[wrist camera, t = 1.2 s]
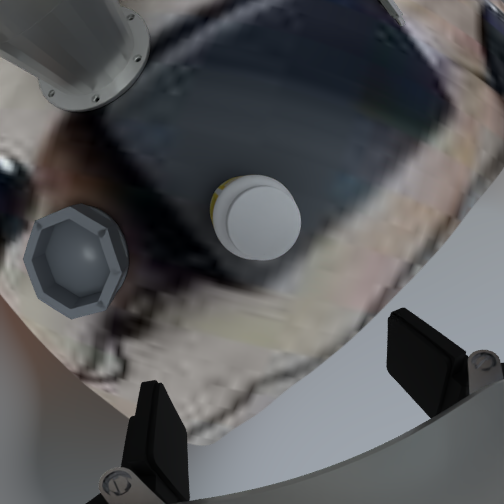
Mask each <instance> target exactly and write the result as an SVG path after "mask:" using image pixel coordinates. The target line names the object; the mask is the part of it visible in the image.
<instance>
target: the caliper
mask: <svg viewBox="0 0 504 504" xmlns="http://www.w3.org/2000/svg"><path fill="white" fill-rule="evenodd" d="M379 1H380V2H381V4H382V5H383V6H384V8H385V9H386V10H387V11H388V13H389V14H390V15H391V16H392V17H393V18H394V19H396V20H397V22H398V23H399V25H400V26H401V27H402V26H403V25H405V21H404V20H403V18H402V17H401V16H402V15H403V14H402V12H401V11H400V9H399V8H398V6H397V5H396V4H395V2H394V1H393V0H379Z"/></svg>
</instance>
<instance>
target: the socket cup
mask: <svg viewBox="0 0 504 504" xmlns="http://www.w3.org/2000/svg"><path fill="white" fill-rule="evenodd" d="M23 260H24V263H25V266H26V269H27V272H28V274H29V277H30V280H31V282H32V285H33V287H34V290H35V292H36V295H37V297H38V299H40V300H41V301H43V302H44V303H46V304H47V305H49V306H50V307H52V308H53V309H55V310H57V311H58V312H60V313H62V314H63V315H65V316H66V317H68V318H70V319H74V318H78V317H82V316H86V315H90V314H94V313H97V312H101V311H105V310H106V309H107V308H108V306H109V305H110V303H111V302H112V300H113V299H114V296H115V294H116V293H117V291H118V290H119V288H120V287H121V286H122V284H123V282H124V280H125V278H126V275H127V271H128V266H129V252H128V247H127V243H126V240H125V237H124V235H123V233H122V231H121V229H120V228H119V226H118V225H117V223H116V222H115V221H114V220H113V219H112V218H111V217H110V216H109V215H108V214H106V213H105V212H103V211H102V210H100V209H98V208H95V207H92V206H88V205H84V204H82V203H81V204H77V205H73V206H69V207H67V208H64V209H62V210H60V211H57V212H55V213H52V214H50V215H48V216H45V217H43V218H41V219H38V220H35V223H34V226H33V229H32V232H31V235H30V238H29V241H28V244H27V247H26V251H25V254H24V258H23Z"/></svg>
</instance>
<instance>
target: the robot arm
mask: <svg viewBox="0 0 504 504" xmlns="http://www.w3.org/2000/svg"><path fill="white" fill-rule="evenodd" d="M150 46H151V44H150V35H149V31H148V28H147V26H146V24H145V22H144V20H143V19H142V18H141V17H140V15H139V14H137V13H136V12H134V11H133V10H131V9H128V8H126V7H123V6H120V3H119V1H118V0H0V57H2V58H4V59H6V60H7V61H9V62H11V63H13V64H14V65H16V66H18V67H20V68H21V69H23V70H25V71H27V72H28V73H30V74H32V75H34V76H35V77H37V78H38V81H39V86H40V89H41V91H42V94H43V95H44V97H45V98H46V99H47V100H48V101H49V102H50V103H51V104H53V105H54V106H56V107H58V108H60V109H62V110H66V111H70V112H85V111H91V110H94V109H97V108H100V107H103V106H105V105H106V104H108V103H110V102H112V101H114V100H115V99H117V98H118V97H119V96H121V95H122V94H123V93H124V92H125V91H127V90H128V89H129V88H130V87H131V86H132V85H133V83H134V82H135V81H136V80H137V78H138V77H139V76H140V74H141V72H142V71H143V69H144V67H145V65H146V62H147V60H148V57H149V52H150ZM138 60H141V61H139V62H137V61H138ZM53 95H54V96H53ZM99 98H100V100H99V101H98V102H97V99H99ZM387 370H388V372H389V374H390V375H391V376H392V377H393V378H394V379H395V380H396V381H397V382H398V383H399V384H400V385H401V386H402V387H403V389H404V390H405V391H406V392H407V393H408V394H409V395H410V396H411V397H412V398H413V399H414V401H415V402H416V403H417V404H418V405H419V406H420V407H421V408H422V409H423V410H424V411H425V413H426V414H427V415H428V416H429V417H430V418H431V419H429V420H428V421H426V422H424V423H422V424H421V425H419V426H417V427H415V428H414V429H412V430H410V431H408V432H406V433H404V434H402V435H400V436H398V437H396V438H394V439H392V440H390V441H388V442H386V443H384V444H382V445H380V446H378V447H376V448H374V449H371V450H369V451H367V452H365V453H362V454H360V455H358V456H355V457H353V458H351V459H348V460H346V461H343V462H340V463H338V464H335V465H332V466H330V467H327V468H324V469H322V470H319V471H315V472H313V473H310V474H306V475H304V476H300V477H297V478H294V479H290V480H287V481H283V482H280V483H276V484H272V485H269V486H265V487H260V488H256V489H252V490H247V491H242V492H238V493H233V494H228V495H223V496H217V497H211V498H205V499H199V500H193V501H189V499H190V494H189V478H188V477H189V476H188V452H187V432H186V429H185V426H184V425H183V423H182V421H181V419H180V417H179V415H178V413H177V411H176V409H175V407H174V406H173V404H172V402H171V400H170V398H169V396H168V394H167V392H166V389H165V387H164V385H163V384H162V383H158V382H157V381H156V380H153V381H147V382H142V383H141V387H140V392H139V397H138V402H137V408H136V413H135V416H131V417H130V420H129V424H128V429H127V435H126V440H125V446H124V452H123V458H122V464H121V467H117V468H113V469H111V470H108V471H107V472H106V473H104V474H103V475H102V477H101V478H100V481H99V490H100V492H101V493H100V494H99V495H97V496H96V497H95V498H93V499H92V500H91V501H89V502H88V503H86V504H504V363H500V359H499V357H498V356H497V355H496V354H495V353H494V352H492V351H488V350H478V351H475V352H473V353H472V354H471V355H470V356H469V357H468V356H467V355H466V351H464V350H463V349H462V348H460V347H459V346H458V345H456V344H455V343H454V342H452V341H451V340H449V339H448V338H447V337H445V336H444V335H442V334H441V333H440V332H438V331H437V330H436V329H434V328H432V327H431V326H430V325H429V324H427V323H426V322H424V321H423V320H421V319H420V318H418V317H417V316H416V315H414V314H413V313H412V312H410V311H409V310H407V309H406V308H400V309H398V310H396V311H393V312H392V313H391V315H390V317H389V318H388V341H387Z"/></svg>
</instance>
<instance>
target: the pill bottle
mask: <svg viewBox="0 0 504 504" xmlns="http://www.w3.org/2000/svg"><path fill="white" fill-rule="evenodd" d="M210 217H211V220H212V224H213V227H214V230H215V233H216V235H217V237H218V239H219V240H220V242H221V243H222V244H223V246H224V247H225V248H226V249H228V250H229V251H230V252H231V253H233V254H235V255H237V256H239V257H241V258H245V259H250V260H271V259H275V258H277V257H279V256H281V255H283V254H284V253H286V252H287V251H288V250H289V249H290V248H291V247H292V246H293V245H294V243H295V241H296V240H297V238H298V235H299V232H300V228H301V217H300V212H299V209H298V207H297V205H296V203H295V201H294V199H293V197H292V195H291V194H290V192H289V191H288V190H287V189H286V187H285V186H284V185H282V184H281V183H280V182H278V181H277V180H275V179H273V178H270V177H267V176H263V175H246V176H239V177H234V178H231V179H229V180H227V181H225V182H223V183H222V184H221V185H220V186H219V187H218V188H217V189H216V190H215V192H214V194H213V196H212V198H211V202H210Z"/></svg>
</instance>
